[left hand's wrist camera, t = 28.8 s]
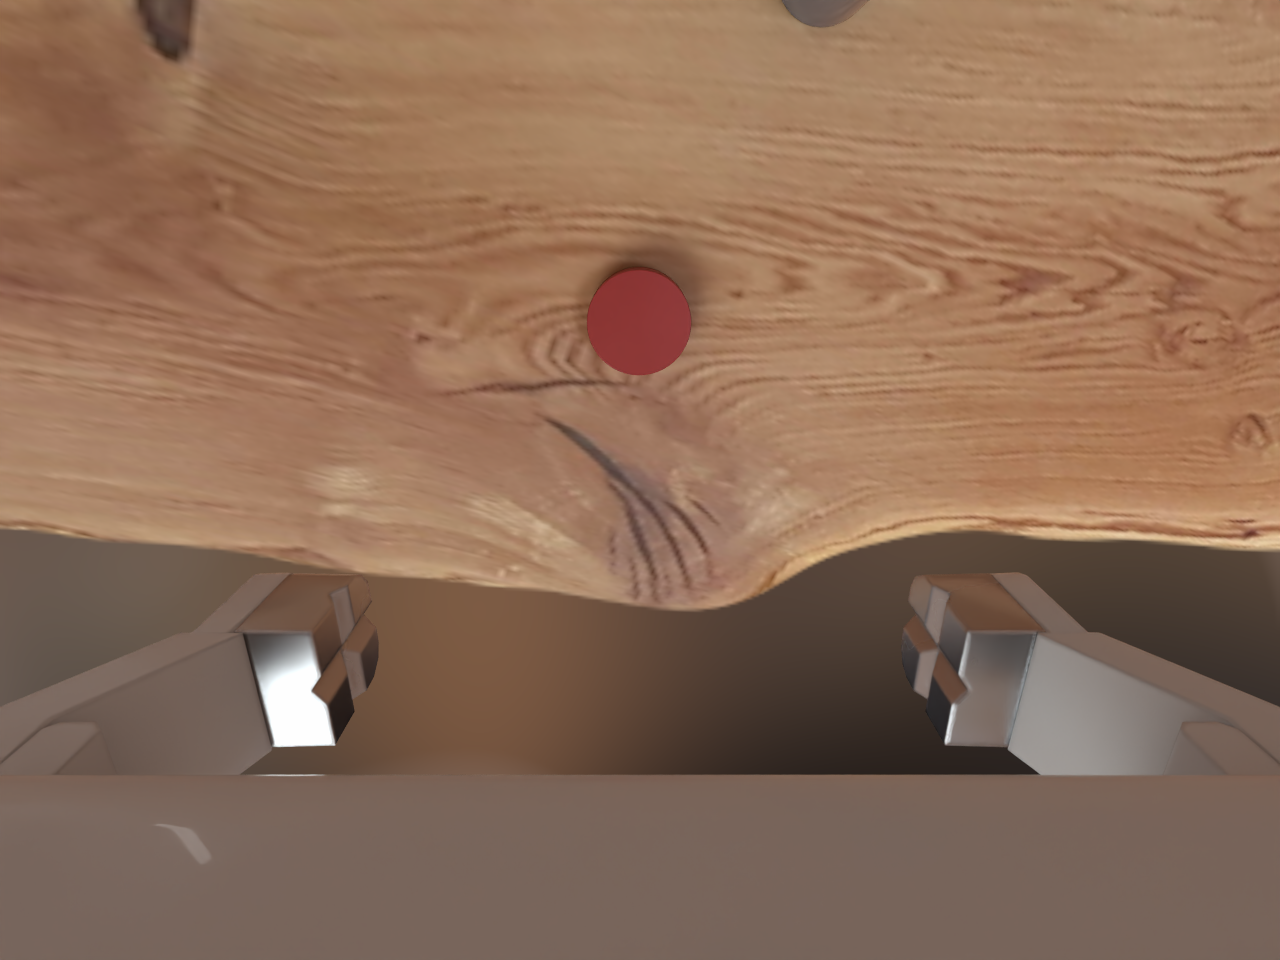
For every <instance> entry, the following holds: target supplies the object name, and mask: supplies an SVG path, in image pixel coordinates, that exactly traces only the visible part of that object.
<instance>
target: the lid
mask: <svg viewBox="0 0 1280 960" xmlns="http://www.w3.org/2000/svg"><path fill="white" fill-rule="evenodd" d="M587 330H588V335H589V338H590V341H591V344H592V346H593V348H594V350H595V351H596V353H597V354H598V355H599V357H600V358H601V359H602V360H603V361H604V362H605V363H606V364H608V365H609V366H611V367H612V368H614V369H616V370H618V371H620V372H623V373H626V374H631V375H647V374H652V373H655V372H658V371H660V370H662V369H664V368H666V367H668V366H669V365H670V364H672V363H673V362H674V361H675V360H676V359H677V358H678V357H679V356H680V354H681V353H682V351H683V350H684V348H685V346H686V344H687V341H688V339H689V335H690V330H691V315H690V310H689V306H688V303H687V301H686V298H685V296H684V295H683V293H682V291H681V289H680V288H679V287H678V285H677V284H676V283H675V282H674V281H673V280H672V279H671V278H669V277H668V276H667V275H665V274H663V273H661V272H659V271H657V270H654V269H651V268H645V267H633V268H627V269H624V270H621V271H619V272H617V273H615V274H613V275H612V276H610V277H609V278H608V279H606V280H605V281H604V282H603V283H602V284H601V286H600V287H599V288H598V290H597V291H596V293H595V295H594V297H593V299H592V301H591V303H590V306H589V310H588V315H587Z"/></svg>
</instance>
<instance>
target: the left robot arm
mask: <svg viewBox="0 0 1280 960" xmlns="http://www.w3.org/2000/svg"><path fill="white" fill-rule="evenodd" d="M371 602H372V600H371V595H370V590H369V585H368V581H367V580H366V579H365V578H364V577H363V576H362V575H349V574H293V573H265V574H255V575H253V576H252V577H251V578H250V579H249V580H248V581H247V582H246V583H245V584H244V585H243V586H241V587H240V588H239V589H238V590H237V591H236V592H235V593H234V594H233V595H232V596H231V597H230V598H229V599H228V600H226V601H225V602H224V603H223V604H222V605H221V606H220V607H219V608H218V609H217V610H216V611H215V612H214V613H213V614H212V615H210V616H209V617H208V618H207V619H206V620H205V621H204V622H203V623H202V624H201V625H200V626H199V627H198V628H196V629H195V630H194V631H193V632H192V633H179V634H176V635H174V636H171V637H169V638H166V639H164V640H162V641H159V642H157V643H154V644H152V645H149V646H147V647H145V648H142V649H140V650H137V651H135V652H133V653H130V654H128V655H125V656H123V657H120V658H118V659H116V660H113V661H111V662H108V663H106V664H103V665H101V666H98V667H96V668H94V669H91V670H89V671H86V672H84V673H82V674H79V675H77V676H74V677H72V678H70V679H67V680H64V681H62V682H60V683H57V684H55V685H52V686H50V687H47V688H45V689H43V690H40V691H38V692H35V693H33V694H31V695H28V696H26V697H23V698H21V699H18V700H16V701H13V702H11V703H9V704H6V705H4V706H1V707H0V960H1280V707H1278V706H1276V705H1273V704H1271V703H1268V702H1266V701H1264V700H1261V699H1259V698H1256V697H1254V696H1252V695H1249V694H1247V693H1244V692H1242V691H1239V690H1237V689H1235V688H1232V687H1230V686H1227V685H1225V684H1222V683H1220V682H1218V681H1215V680H1213V679H1210V678H1208V677H1206V676H1203V675H1201V674H1198V673H1196V672H1193V671H1191V670H1189V669H1186V668H1184V667H1181V666H1179V665H1176V664H1174V663H1172V662H1169V661H1167V660H1164V659H1162V658H1159V657H1157V656H1155V655H1152V654H1150V653H1147V652H1145V651H1143V650H1140V649H1138V648H1135V647H1133V646H1130V645H1128V644H1126V643H1123V642H1121V641H1118V640H1116V639H1113V638H1111V637H1109V636H1106V635H1104V634H1101V633H1088V632H1087V631H1086V630H1085V629H1084V628H1083V627H1081V626H1080V625H1079V624H1078V623H1077V622H1076V621H1075V620H1074V619H1073V618H1072V617H1071V616H1070V615H1069V614H1068V613H1066V612H1065V611H1064V610H1063V609H1062V608H1061V607H1060V606H1059V605H1058V604H1057V603H1056V602H1055V601H1054V600H1053V599H1052V598H1050V597H1049V596H1048V595H1047V594H1046V593H1045V592H1044V591H1043V590H1042V589H1041V588H1040V587H1039V586H1038V585H1037V584H1035V583H1034V582H1033V581H1032V580H1031V579H1030V578H1029V577H1028V576H1027V575H1024V574H1021V573H998V574H989V573H988V574H947V575H921V576H916V577H915V579H914V581H913V583H912V585H911V588H910V594H909V599H908V602H909V603H910V605H911V607H912V608H913V610H914V611H915V613H916V615H915V616H914V617H913V618H912V619H911V620H910V621H909V622H908V623H907V624H906V625H905V626H904V629H903V637H902V645H901V649H902V661H903V667H904V670H905V673H906V677H907V679H908V681H909V683H910V685H911V687H912V688H913V690H914V691H916V692H917V693H919V694H920V695H922V696H924V697H925V698H927V699H928V701H927V706H926V713H927V715H928V716H929V718H930V720H931V722H932V723H933V725H934V727H935V729H936V730H937V732H938V734H939V736H940V737H941V739H942V741H943V742H944V744H945V745H955V746H992V747H1008V750H1009V751H1010V752H1012V753H1013V754H1014V755H1016V756H1017V757H1018V758H1020V759H1021V760H1022V761H1024V762H1025V763H1026V764H1028V765H1029V766H1030V767H1032V768H1033V769H1034V770H1036V771H1037V772H1038V773H1040V774H1041V775H239V774H241V773H242V772H243V771H245V770H246V769H247V768H249V767H250V766H251V765H253V764H254V763H255V762H257V761H258V760H259V759H261V758H262V757H263V756H265V755H266V754H267V753H268V752H270V751H271V750H272V747H287V746H322V745H335V744H336V743H337V741H338V739H339V737H340V736H341V734H342V732H343V730H344V729H345V727H346V725H347V724H348V722H349V720H350V718H351V717H352V715H353V713H354V706H353V701H352V699H353V698H355V697H356V696H358V695H360V694H361V693H363V692H364V691H366V690H367V688H368V686H369V685H370V683H371V681H372V679H373V677H374V674H375V670H376V665H377V661H378V636H377V629H376V626H375V625H374V624H373V623H372V622H371V621H370V620H369V619H368V618H367V617H366V616H365V615H364V613H365V611H366V610H367V608H368V607H369V605H370V603H371Z"/></svg>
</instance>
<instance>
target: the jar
mask: <svg viewBox="0 0 1280 960" xmlns="http://www.w3.org/2000/svg"><path fill="white" fill-rule="evenodd" d="M782 1H783V3H784V5H785V7H786V8H787V9H788V11H789V12H790V13H791V14H792V15H793V16H794V17H795V18H796V19H798V20H799V21H801V22H803V23H805V24H807V25H810V26H814V27H829V26H834V25H837V24H840V23H842V22H844V21H846V20H847V19H849V18H850V17H851V16H853V15H854V14H855V13H856V12H857V11H858V10H859V9H860V8H862V7H863V6H864V5H865V4H866V3H867V2H868V1H869V0H782Z"/></svg>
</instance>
